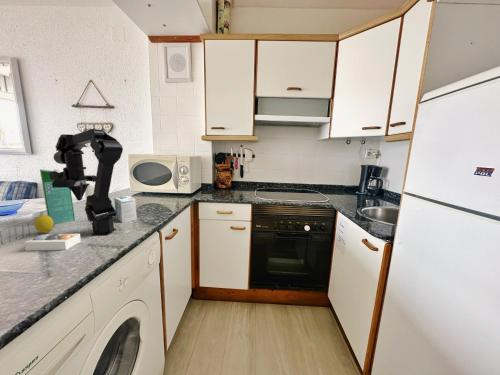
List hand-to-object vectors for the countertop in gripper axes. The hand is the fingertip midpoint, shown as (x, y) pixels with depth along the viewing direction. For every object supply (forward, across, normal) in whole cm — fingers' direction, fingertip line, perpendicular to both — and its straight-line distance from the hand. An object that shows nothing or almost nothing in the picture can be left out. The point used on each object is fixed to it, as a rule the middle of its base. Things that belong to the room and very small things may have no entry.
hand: (79, 200), depth 92 cm
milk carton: (+12, -9, -16) cm, 22 cm away
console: (+12, +20, +4) cm, 24 cm away
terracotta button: (+11, +20, +8) cm, 24 cm away
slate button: (+11, +20, 0) cm, 23 cm away
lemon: (+12, +8, -9) cm, 17 cm away
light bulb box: (+12, -10, +14) cm, 21 cm away
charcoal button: (+11, +20, +4) cm, 23 cm away
